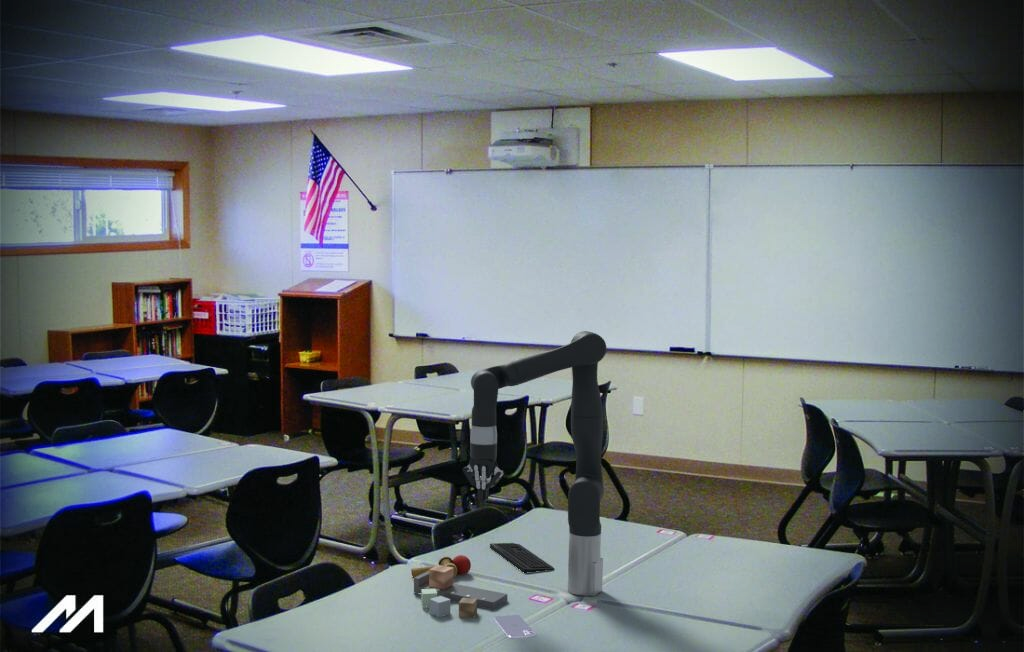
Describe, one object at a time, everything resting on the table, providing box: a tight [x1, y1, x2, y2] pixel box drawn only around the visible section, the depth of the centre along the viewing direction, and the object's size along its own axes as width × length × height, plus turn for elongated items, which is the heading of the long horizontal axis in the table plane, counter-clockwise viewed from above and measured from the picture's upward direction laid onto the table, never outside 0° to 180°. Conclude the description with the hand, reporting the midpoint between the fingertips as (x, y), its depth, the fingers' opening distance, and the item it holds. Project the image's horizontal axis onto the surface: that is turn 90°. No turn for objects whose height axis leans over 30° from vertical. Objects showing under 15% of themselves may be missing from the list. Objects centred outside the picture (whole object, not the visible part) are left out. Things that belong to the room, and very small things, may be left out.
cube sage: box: [420, 589, 437, 607], centre depth 273 cm, size 4×4×4 cm
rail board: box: [413, 571, 508, 610], centre depth 280 cm, size 26×8×4 cm, turn 62°
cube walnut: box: [458, 598, 478, 619], centre depth 266 cm, size 4×4×4 cm
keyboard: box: [489, 542, 555, 574], centre depth 318 cm, size 30×11×2 cm, turn 23°
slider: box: [429, 565, 454, 590], centre depth 283 cm, size 5×5×5 cm
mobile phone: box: [493, 614, 537, 639], centre depth 258 cm, size 8×1×15 cm
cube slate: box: [428, 596, 451, 618], centre depth 267 cm, size 4×4×4 cm
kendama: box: [410, 554, 472, 579], centre depth 299 cm, size 8×6×18 cm
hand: (482, 501), depth 281 cm, fingers closed
